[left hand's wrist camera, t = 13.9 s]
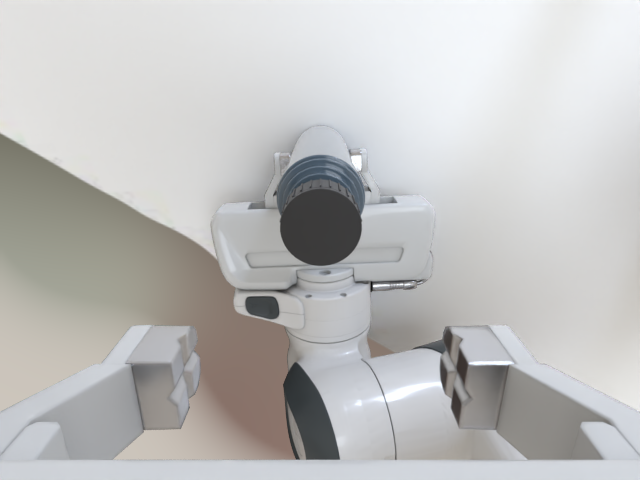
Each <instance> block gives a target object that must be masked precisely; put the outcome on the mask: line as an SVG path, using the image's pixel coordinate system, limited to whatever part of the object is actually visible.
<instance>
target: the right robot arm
mask: <svg viewBox="0 0 640 480" xmlns="http://www.w3.org/2000/svg"><path fill="white" fill-rule="evenodd" d="M349 153H350V155H351V157H352V159H353V162H354V164H355V166H356V169H357V171H358V172H360V173H361V175H362V177H363V178H364V180H365V182H366V183H367V185H368V186H364V190H365V205H364V209H363V213H362V215H361V218H362V232H361V237H360V240H359V242H358V245H357V246H356V248H355V249H354V251H353V252H352V253H351V254H350V255H349V256H348V257H346V258H345V259H344V260H342V261H340V262H338V263H335V264H332V265H327V266H314V265H310V264H307V263H304V262H302V261H300V260H298V259H297V258H295V257H294V256H293V255H292V254H291V253H290V252H289V251H288V250H287V248H286V247H285V245H284V243H283V241H282V238H281V233H280V218H281V215H280V213H279V210H278V206H277V190H276V188H277V186H278V184H279V182H280V180H281V177H282V175H283V173H284V170H285V168H286V166H287V163H288V161H289V159H290V156H291V154H292V152H278V153H275V154H274V167H275V175H274V177H273V179H272V181H271V183H270V185H269V187H268V189H267V191H266V193H265V195H264V197H265V201H262V202H240V203H225V204H223V205H222V206H221V207H220V208H219V209H218V210H217V211H216V213H215V214H214V216H213V217H212V220H211V232H212V238H213V243H214V247H215V251H216V255H217V259H218V262H219V265H220V268H221V271H222V274H223V276H224V277H225V279H226V280H227V282H228V283H229V284H231V285H232V286H234V287H235V288H236V289H235V292H234V300H233V302H234V308H235V310H236V311H237V312H238V313H240V314H242V315H246V316H250V317H255V318H259V319H263V320H267V321H271V322H274V323H277V324H281V325H284V326H285V330H286V333H287V335H288V337H289V341H290V345H289V349H288V355H287V363H288V374H287V377H286V379H285V381H284V384H283V387H284V396H285V407H286V419H287V427H288V433H289V438H290V443H291V446H292V449H293V453H294V455H295V458H296V460H528V459H527V458H525V457H524V456H523V455H522V454H521V453H520V452H519V451H517V450H516V449H515V448H514V447H513V446H512V445H511V444H509V443H508V442H507V441H506V440H505V439H504V438H503V437H502V436H500V435H499V434H498V433H497V432H496V430H474V429H459V427H458V425H457V422H456V420H455V418H454V415H453V413H452V410H451V408H450V407H451V398H449V397H448V396H447V395H445V393H444V390H443V388H442V384H441V380H440V369H439V367H440V356H441V355H442V354H443V353H444V352H445V351H446V348H445V346H444V344H443V341H442V340H439V341H436V342H433V343H429V344H426V345H423V346H419V347H416V348H414V349H412V350H408V351H403V352H399V353H394V354H389V355H384V356H379V357H374V358H371V353H370V348H369V345H368V343H367V335H368V332H369V329H370V324H371V292H372V291H386V290H394V289H403V290H410V289H415V288H417V285H420V284H423V283H424V282H426V281H427V280H428V279H429V278H430V277H431V274H432V268H433V255H432V252H431V251H430V249H431V244H432V240H433V234H434V227H435V217H436V214H435V210H434V208H433V206H432V205H431V204H430V203H429V202H428V201H427V200H426V199H425V198H424V197H423V196H421V195H401V196H380V190H379V188H378V186H377V184H376V183H375V181H374V179H373V178H372V176H371V174H370V173H369V171H368V169H367V150H366V149H349ZM416 280H419V281H416Z"/></svg>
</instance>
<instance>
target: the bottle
mask: <svg viewBox="0 0 640 480" xmlns="http://www.w3.org/2000/svg"><path fill="white" fill-rule="evenodd" d="M320 179H321V180H331V181H333V182H336V183H340V185H342V186H343V187H344V188H347V189H348V191H349V192H350V193H351V195H353V196H354V199H355V202H356V203H358V206H359V210H360V215H362V213H363V209H364V205H365V190H364V186H363V183H362V180H361V178H360V176H359V173H358V171H357V169H356V166H355V164H354V162H353V159H352V157H351V155H350V153H349V150H348V148H347V146H346V143H345V141H344V139H343V137H342V136H341V135H340V134H339V133H338V132H337V131H336V130H334V129H333V128H330V127H327V126H314V127H311V128H309V129H307V130H306V131H304V132H303V133H302V134H301V135H300V137H299V138H298V140H297V142H296V144H295V147H294V149H293V152H292V154H291V156H290V159H289V161H288V163H287V166H286V168H285V170H284V173H283V175H282V177H281V180H280V182H279V185H278V189H277V206H278V210H279V213H280V215H282V213H281V212H282V209H283V206H284V203H285V204H286V201H287V197H288V195H289V196H290V194H291V193H292V192H293V190H294V189H296V188H297V187H299V186H300V185H301V184H302V183H303V184H304V183H306V182H309V181H310V180H320Z"/></svg>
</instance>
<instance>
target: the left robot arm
mask: <svg viewBox="0 0 640 480" xmlns="http://www.w3.org/2000/svg"><path fill="white" fill-rule="evenodd" d="M197 341H198V340H197V334H196V329H195V328H194V326H166V325H154V326H153V325H134V326H131V327H130V328H129V329H128V331H127V332H126V333H125V334H124V335H123V337H122V338H121V339H120V341H119V342H118V343H117V344H116V346H115V347H114V348H113V349H112V351H111V352H110V353H109V354H108V356H107V357H106V358H105V359H104V361H103V362H102V363H101V364H94V365H91V366H90V367H88V368H86V369H84V370H82V371H80V372H78V373H76V374H74V375H72V376H70V377H68V378H66V379H64V380H62V381H60V382H58V383H56V384H54V385H52V386H50V387H48V388H46V389H44V390H42V391H40V392H38V393H36V394H34V395H32V396H30V397H28V398H26V399H24V400H22V401H20V402H18V403H16V404H14V405H13V406H11V407H9V408H7V409H5V410H3V411H1V412H0V480H640V412H639V411H637V410H635V409H633V408H631V407H629V406H627V405H625V404H623V403H621V402H619V401H617V400H615V399H613V398H611V397H610V396H608V395H606V394H604V393H602V392H600V391H598V390H596V389H594V388H592V387H590V386H588V385H586V384H584V383H582V382H580V381H578V380H576V379H574V378H572V377H570V376H568V375H566V374H564V373H562V372H560V371H558V370H556V369H554V368H552V367H550V366H549V365H547V364H539V363H538V362H537V361H536V359H535V358H534V357H533V356H532V354H531V353H530V352H529V351H528V349H527V348H526V347H525V346H524V344H523V343H522V342H521V341H520V339H519V338H518V337H517V336H516V334H515V333H514V332H513V331H512V329H511V328H510V327H509V326H507V325H488V326H454V327H445V330H444V332H443V340H442V341H443V344H444V346H445V348H446V351H445V352H444V353H443V354H442V355H441V356H440V367H439V369H440V380H441V384H442V388H443V390H444V393H445V395H447V396H448V397H449V398H451V407H450V408H451V410H452V413H453V415H454V418H455V420H456V422H457V425H458V427H459V429H474V430H496V432H497V433H498V434H499V435H500V436H502V437H503V438H504V439H505V440H506V441H507V442H508V443H509V444H511V445H512V446H513V447H514V448H515V449H516V450H517V451H519V452H520V453H521V454H522V455H523V456H524V457H525V458H527V459H528V460H113V459H114V458H115V457H116V456H117V455H118V454H119V453H120V452H122V451H123V450H124V449H125V448H126V447H127V446H128V445H130V444H131V443H132V442H133V441H134V440H135V439H136V438H137V437H139V436H140V435H141V434H142V433H143V432H144V431H143V430H165V429H181V427H182V425H183V422H184V420H185V417H186V415H187V413H188V410H189V408H190V407H189V398H191V397H192V396H193V395H195V393H196V390H197V388H198V384H199V379H200V356H199V355H198V354H197V353H196V352H195V351H194V348H195V346H196V344H197Z"/></svg>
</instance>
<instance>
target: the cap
mask: <svg viewBox="0 0 640 480" xmlns="http://www.w3.org/2000/svg"><path fill="white" fill-rule="evenodd" d="M281 213H282V215H281V218H280V233H281V238H282V241H283V243H284V245H285V247H286V248H287V250H288V251H289V252H290V253H291V254H292V255H293V256H294V257H295V258H297V259H298V260H300V261H302V262H304V263H307V264H310V265H314V266H327V265H332V264H335V263H338V262H340V261H342V260H344V259H345V258H346V257H348V256H349V255H350V254H351V253H352V252H353V251H354V249H355V248H356V246H357V245H358V242H359V240H360V237H361V232H362V218H361V215H360V210H359V206H358V203H356V202H355V199H354V196H353V195H351V193H350V192H349V191H348V189H347V188H344V187H343V186H342V185H340V183H336V182H333V181H331V180H321V179H320V180H310V181H309V182H306V183H304V184H303V183H302V184H301V185H300V186H299V187H297V188H296V189H294V190H293V192H292V193H291V194H290V196H289V195H288V197H287V201H286V204H285V203H284V206H283V209H282V212H281Z"/></svg>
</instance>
